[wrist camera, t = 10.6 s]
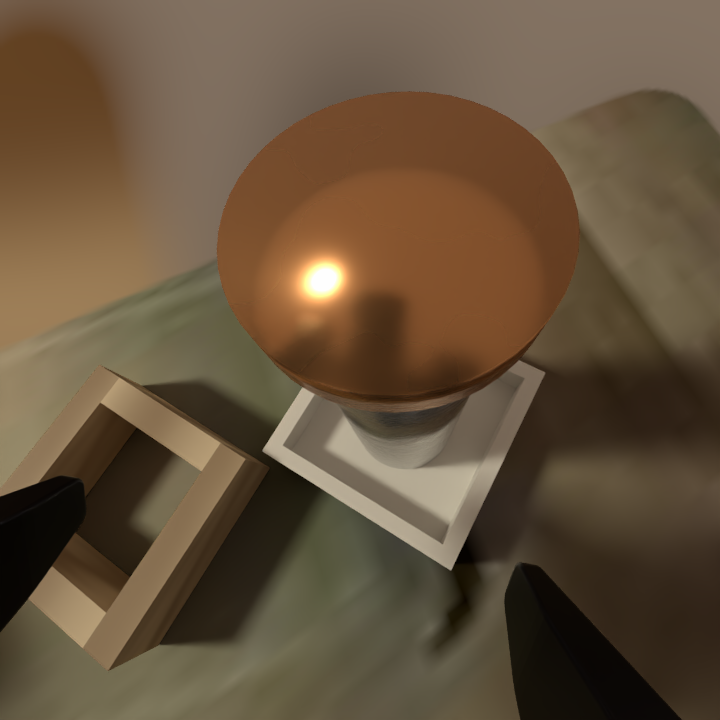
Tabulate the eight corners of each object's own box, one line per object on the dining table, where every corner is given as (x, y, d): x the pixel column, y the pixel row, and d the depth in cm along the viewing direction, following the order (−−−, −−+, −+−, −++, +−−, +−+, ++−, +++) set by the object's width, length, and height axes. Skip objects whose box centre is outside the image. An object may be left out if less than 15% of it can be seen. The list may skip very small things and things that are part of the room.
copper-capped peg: (485, 453, 17) (662, 298, 5) (370, 501, 17) (274, 457, 5) (432, 348, 19) (472, 50, 7) (329, 391, 19) (184, 162, 7)
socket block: (269, 467, 19) (245, 459, 16) (158, 645, 17) (108, 670, 14) (141, 385, 21) (99, 364, 18) (28, 534, 19) (-39, 537, 16)
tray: (531, 387, 19) (545, 372, 17) (446, 564, 17) (451, 570, 15) (369, 309, 21) (366, 288, 19) (276, 457, 19) (261, 451, 17)
